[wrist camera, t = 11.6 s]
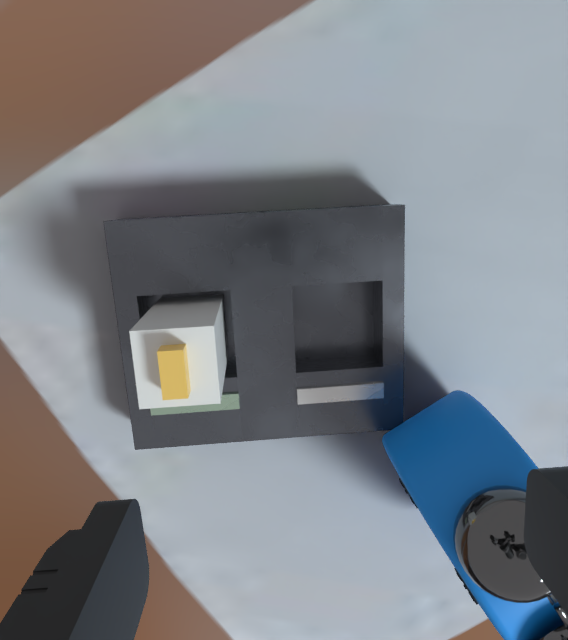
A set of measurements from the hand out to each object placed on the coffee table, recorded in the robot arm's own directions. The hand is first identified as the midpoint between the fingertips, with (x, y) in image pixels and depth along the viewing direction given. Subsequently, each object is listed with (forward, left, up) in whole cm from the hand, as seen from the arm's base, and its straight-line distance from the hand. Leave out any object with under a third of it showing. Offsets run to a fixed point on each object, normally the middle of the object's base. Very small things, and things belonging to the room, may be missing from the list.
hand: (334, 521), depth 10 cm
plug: (+5, +1, -22) cm, 23 cm away
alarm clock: (-11, +12, -23) cm, 28 cm away
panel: (+1, +1, -23) cm, 23 cm away
